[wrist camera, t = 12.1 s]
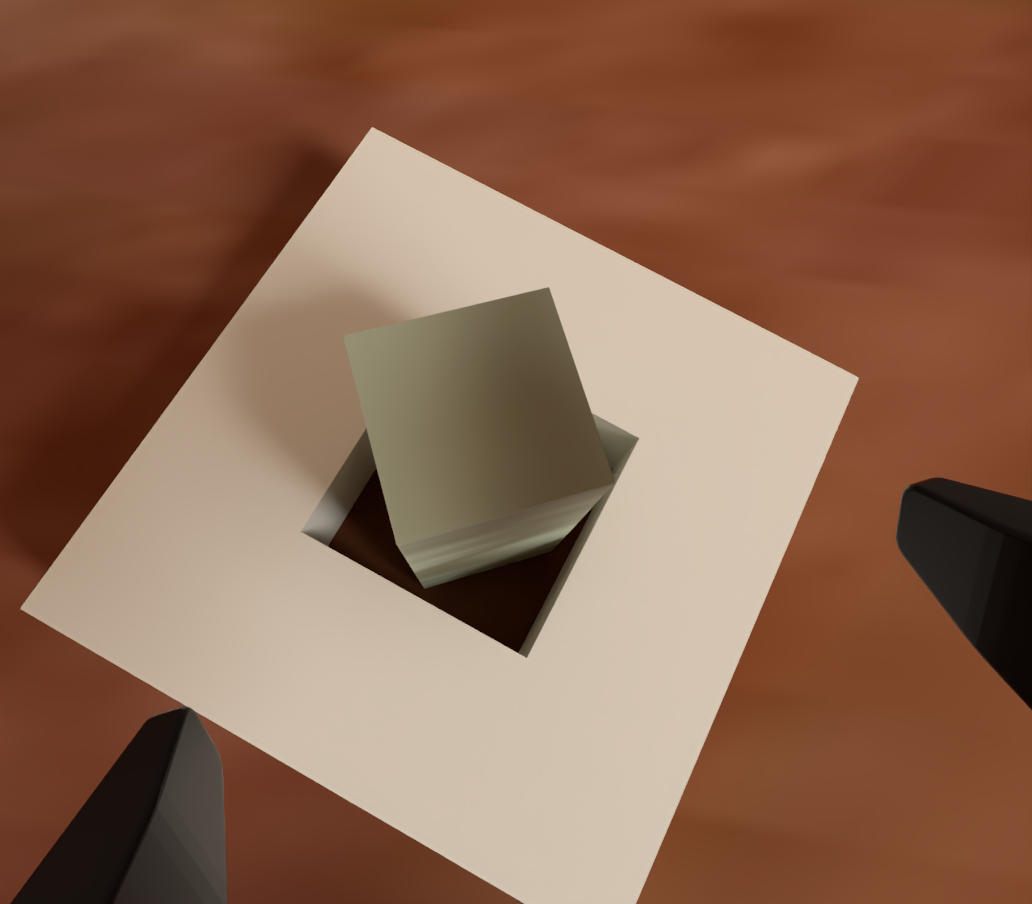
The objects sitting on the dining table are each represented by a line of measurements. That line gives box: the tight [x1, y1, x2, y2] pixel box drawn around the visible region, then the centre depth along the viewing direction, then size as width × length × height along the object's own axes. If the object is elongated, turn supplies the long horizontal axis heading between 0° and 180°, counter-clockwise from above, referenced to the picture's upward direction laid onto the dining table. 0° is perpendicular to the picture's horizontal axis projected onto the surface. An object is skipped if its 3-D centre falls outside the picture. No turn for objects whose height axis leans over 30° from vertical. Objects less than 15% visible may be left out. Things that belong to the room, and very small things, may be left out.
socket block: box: [20, 127, 859, 904], centre depth 20 cm, size 16×16×4 cm
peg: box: [343, 287, 615, 589], centre depth 18 cm, size 4×4×10 cm
